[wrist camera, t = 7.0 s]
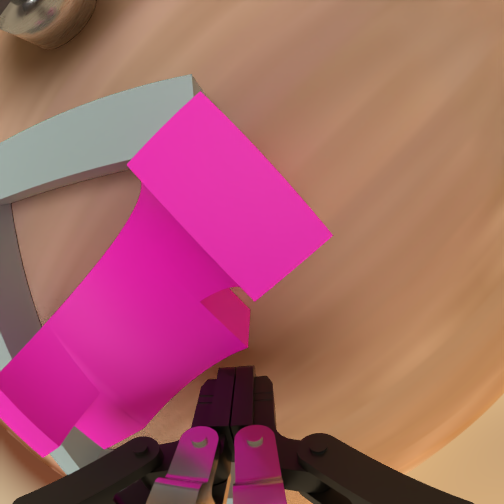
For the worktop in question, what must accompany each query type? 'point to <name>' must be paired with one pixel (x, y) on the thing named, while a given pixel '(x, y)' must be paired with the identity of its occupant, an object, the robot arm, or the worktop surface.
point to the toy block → (162, 286)
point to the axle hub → (46, 20)
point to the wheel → (3, 5)
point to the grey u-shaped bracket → (65, 173)
